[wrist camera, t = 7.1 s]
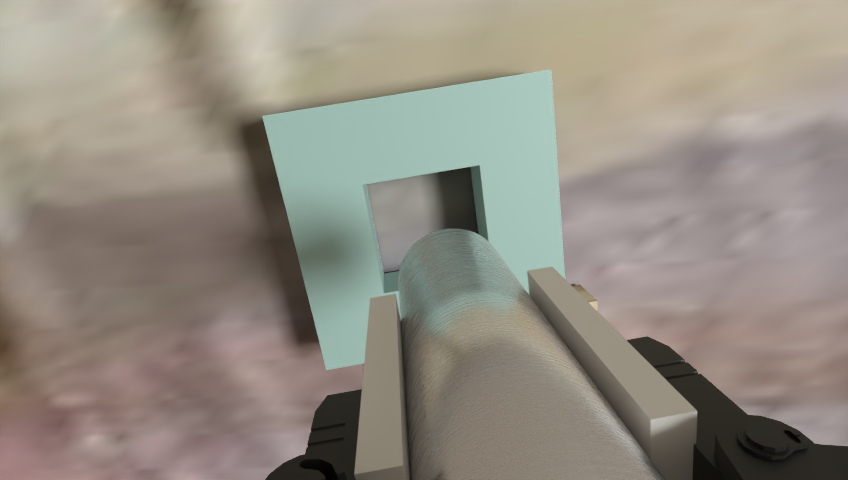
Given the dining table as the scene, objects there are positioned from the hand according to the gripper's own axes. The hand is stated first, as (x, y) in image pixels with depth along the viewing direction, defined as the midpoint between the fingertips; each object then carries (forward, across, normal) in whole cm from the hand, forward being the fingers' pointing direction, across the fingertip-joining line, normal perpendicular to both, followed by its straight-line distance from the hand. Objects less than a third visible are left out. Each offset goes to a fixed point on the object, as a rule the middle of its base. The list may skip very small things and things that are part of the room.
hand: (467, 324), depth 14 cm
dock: (+14, 0, 0) cm, 14 cm away
